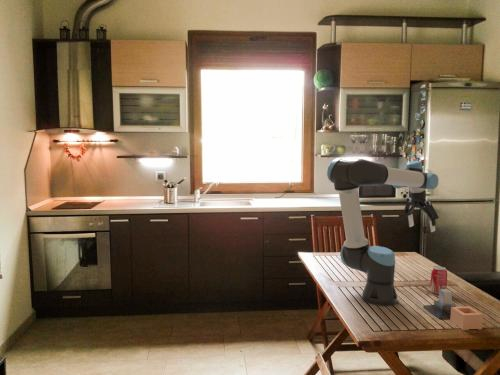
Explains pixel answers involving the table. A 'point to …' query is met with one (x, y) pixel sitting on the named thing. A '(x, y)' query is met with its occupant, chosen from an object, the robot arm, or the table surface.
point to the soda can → (438, 279)
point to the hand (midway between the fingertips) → (422, 228)
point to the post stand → (441, 305)
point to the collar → (466, 318)
